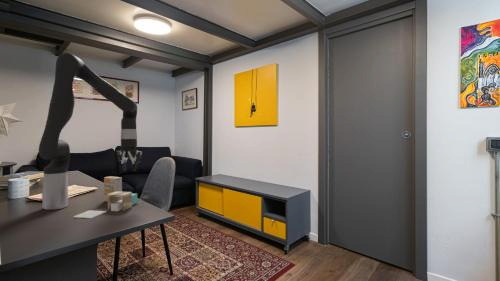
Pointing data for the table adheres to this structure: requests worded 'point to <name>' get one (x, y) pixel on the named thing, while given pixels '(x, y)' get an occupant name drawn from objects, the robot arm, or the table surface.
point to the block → (134, 199)
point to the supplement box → (112, 186)
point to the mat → (89, 214)
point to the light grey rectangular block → (116, 206)
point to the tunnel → (125, 199)
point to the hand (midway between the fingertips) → (129, 170)
